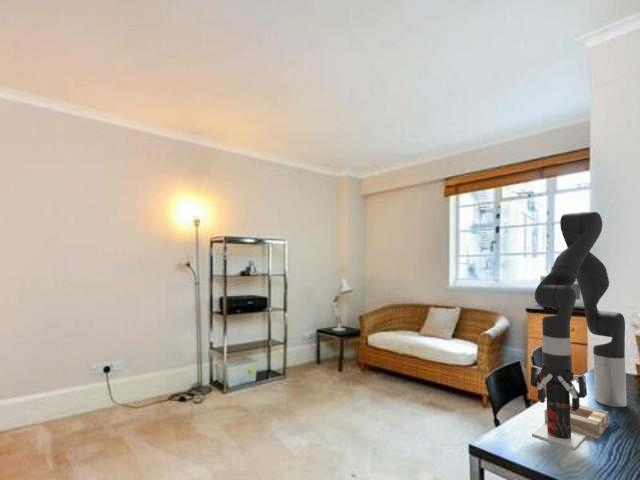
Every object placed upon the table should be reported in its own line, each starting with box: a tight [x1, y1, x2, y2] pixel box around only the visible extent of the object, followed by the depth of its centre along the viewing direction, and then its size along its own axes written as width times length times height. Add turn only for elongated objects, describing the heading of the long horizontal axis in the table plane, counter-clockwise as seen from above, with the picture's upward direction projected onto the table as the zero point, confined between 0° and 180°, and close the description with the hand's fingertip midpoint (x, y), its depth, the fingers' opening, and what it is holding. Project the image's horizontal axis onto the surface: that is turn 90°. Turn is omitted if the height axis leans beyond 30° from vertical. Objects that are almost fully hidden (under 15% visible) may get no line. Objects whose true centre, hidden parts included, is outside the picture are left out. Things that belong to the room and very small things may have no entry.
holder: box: [544, 401, 610, 439], centre depth 121 cm, size 14×14×4 cm
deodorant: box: [545, 382, 571, 439], centre depth 113 cm, size 6×6×15 cm
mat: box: [531, 422, 587, 451], centre depth 112 cm, size 11×11×1 cm
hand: (558, 406), depth 112 cm, fingers open, 8 cm apart
